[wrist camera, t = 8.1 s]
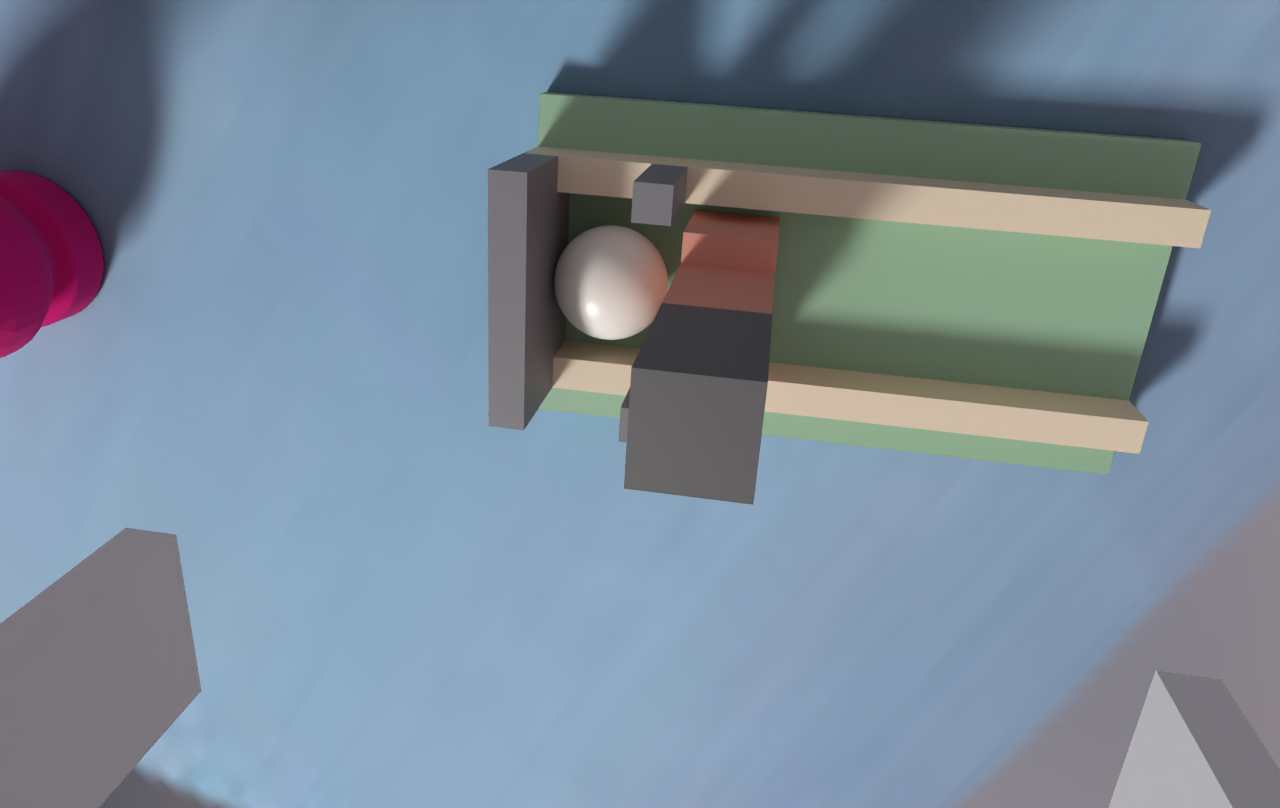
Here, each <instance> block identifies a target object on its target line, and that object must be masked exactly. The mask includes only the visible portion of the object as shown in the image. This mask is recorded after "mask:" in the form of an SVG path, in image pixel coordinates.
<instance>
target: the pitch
mask: <svg viewBox="0 0 1280 808" xmlns="http://www.w3.org/2000/svg"><path fill="white" fill-rule="evenodd" d="M1201 145H1202V143H1198V142H1195V141H1191V140H1181V139H1167V138H1154V137H1140V136H1127V135H1114V134H1100V133H1087V132H1074V131H1060V130H1047V129H1034V128H1020V127H1007V126H994V125H980V124H967V123H954V122H940V121H927V120H914V119H900V118H887V117H874V116H860V115H847V114H833V113H820V112H807V111H793V110H780V109H767V108H753V107H740V106H727V105H713V104H700V103H687V102H673V101H660V100H647V99H633V98H620V97H607V96H593V95H580V94H567V93H553V92H544V93H540V94H539V143H538V147H536V148H534V149H532V150H530V151H527V152H525V153H523V154H521V155H519V156H516V157H514V158H512V159H510V160H508V161H505V162H503V163H501V164H499V165H497V166H494V167H492V168H490V169H488V293H489V426H494V427H502V428H511V429H519V430H524V429H525V428H526V426H527V425H528V423H529V422H530V420H531V419H532V417H533V416H534V414H535V413H536V411H537V410H538V409H544V410H553V411H561V412H570V413H579V414H587V415H596V416H605V417H613V418H620V426H619V441H620V442H627V432H628V415H629V399H630V382H631V367H632V365H633V363H634V361H635V359H636V357H637V355H638V353H639V350H640V348H641V346H642V344H643V342H644V340H645V338H646V336H647V334H648V331H649V329H650V327H651V325H652V323H653V322H652V323H651V324H650V325H649V326H648V327H646V328H645V329H644V330H642V331H641V332H639V333H637V334H635V335H633V336H630V337H627V338H623V339H616V340H606V339H600V338H596V337H592V336H590V335H587V334H585V333H584V332H582V331H580V330H579V329H577V328H576V327H575V326H574V325H573V324H572V323H570V322H569V320H568V319H567V318H566V317H565V315H564V314H563V312H562V311H561V309H560V307H559V304H558V302H557V299H556V295H555V289H554V275H555V270H556V266H557V263H558V260H559V258H560V256H561V254H562V252H563V251H564V249H565V248H566V247H567V245H568V244H569V243H570V242H571V241H572V240H573V239H574V238H576V237H577V236H578V235H580V234H581V233H583V232H585V231H587V230H589V229H592V228H595V227H599V226H605V225H616V226H622V227H626V228H630V229H632V230H635V231H637V232H638V233H640V234H642V235H643V236H645V237H646V238H647V239H648V240H649V241H650V242H651V243H652V244H653V245H654V246H655V247H656V248H657V250H658V251H659V253H660V255H661V256H662V258H663V261H664V263H665V267H666V270H667V277H668V289H669V287H670V285H671V283H672V281H673V279H674V277H675V274H676V272H677V270H678V268H679V266H680V264H681V255H682V242H683V232H684V230H685V228H686V226H687V224H688V222H689V221H690V219H691V217H692V215H693V213H694V211H695V210H704V211H715V212H727V213H738V214H749V215H761V216H772V217H780V228H779V243H778V252H777V260H776V268H775V281H774V296H773V312H772V327H771V343H770V358H769V374H768V386H767V394H766V402H765V411H764V419H763V427H762V435H769V436H777V437H786V438H795V439H803V440H812V441H821V442H829V443H838V444H846V445H855V446H864V447H872V448H881V449H890V450H898V451H907V452H916V453H924V454H933V455H941V456H950V457H959V458H967V459H976V460H985V461H993V462H1002V463H1011V464H1019V465H1028V466H1036V467H1045V468H1054V469H1062V470H1071V471H1080V472H1088V473H1097V474H1106V475H1108V473H1109V469H1110V465H1111V462H1112V458H1113V455H1114V451H1119V452H1128V453H1137V454H1139V453H1140V450H1141V446H1142V443H1143V439H1144V436H1145V433H1146V429H1147V426H1148V423H1149V422H1148V421H1147V420H1146V419H1145V417H1144V416H1143V415H1142V414H1141V413H1140V412H1139V411H1138V410H1137V409H1136V408H1135V407H1134V405H1133V404H1132V403H1131V402H1130V401H1129V399H1130V395H1131V392H1132V388H1133V384H1134V381H1135V377H1136V374H1137V370H1138V367H1139V363H1140V360H1141V356H1142V353H1143V349H1144V346H1145V342H1146V339H1147V335H1148V332H1149V328H1150V325H1151V321H1152V318H1153V314H1154V311H1155V307H1156V303H1157V300H1158V296H1159V293H1160V289H1161V286H1162V282H1163V279H1164V275H1165V272H1166V268H1167V265H1168V261H1169V258H1170V254H1171V251H1172V247H1173V246H1179V247H1191V248H1200V247H1201V243H1202V240H1203V237H1204V233H1205V230H1206V226H1207V223H1208V220H1209V216H1210V213H1211V210H1210V209H1207V208H1205V207H1202V206H1200V205H1198V204H1195V203H1193V202H1191V201H1188V200H1186V198H1187V194H1188V191H1189V187H1190V184H1191V180H1192V177H1193V173H1194V170H1195V166H1196V163H1197V159H1198V156H1199V152H1200V149H1201ZM668 289H667V291H668Z"/></svg>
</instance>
